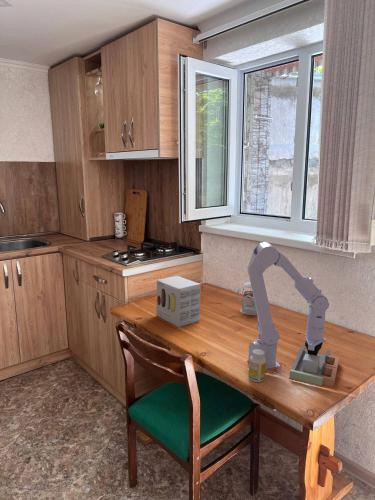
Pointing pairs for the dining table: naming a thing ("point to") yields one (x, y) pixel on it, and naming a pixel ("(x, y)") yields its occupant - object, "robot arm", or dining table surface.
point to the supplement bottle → (257, 365)
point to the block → (311, 363)
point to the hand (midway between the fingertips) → (312, 360)
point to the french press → (248, 308)
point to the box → (324, 368)
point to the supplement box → (178, 300)
